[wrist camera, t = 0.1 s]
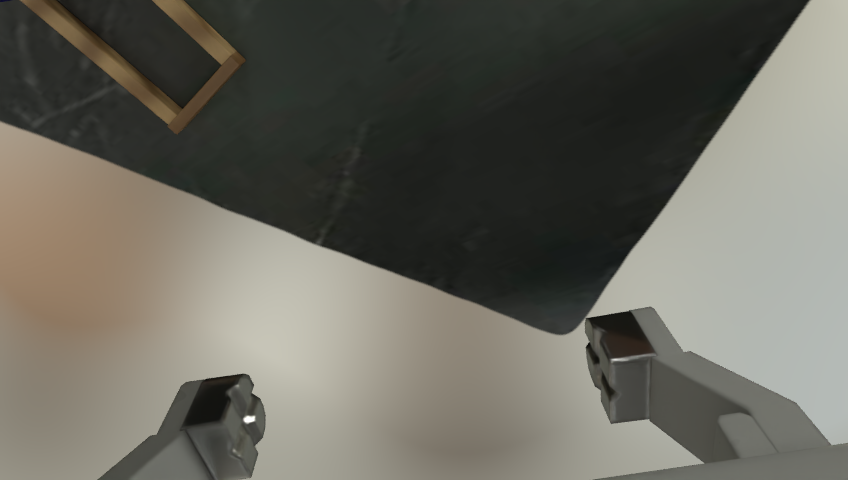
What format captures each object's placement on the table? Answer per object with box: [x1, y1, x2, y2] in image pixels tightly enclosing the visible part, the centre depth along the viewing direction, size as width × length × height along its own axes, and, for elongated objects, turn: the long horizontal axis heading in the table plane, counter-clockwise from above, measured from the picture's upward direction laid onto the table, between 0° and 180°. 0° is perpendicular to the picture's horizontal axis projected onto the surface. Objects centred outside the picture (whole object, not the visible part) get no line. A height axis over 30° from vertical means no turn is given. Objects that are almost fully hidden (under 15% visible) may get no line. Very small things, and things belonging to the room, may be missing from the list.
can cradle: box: [20, 0, 246, 134], centre depth 52 cm, size 21×10×2 cm, turn 42°
